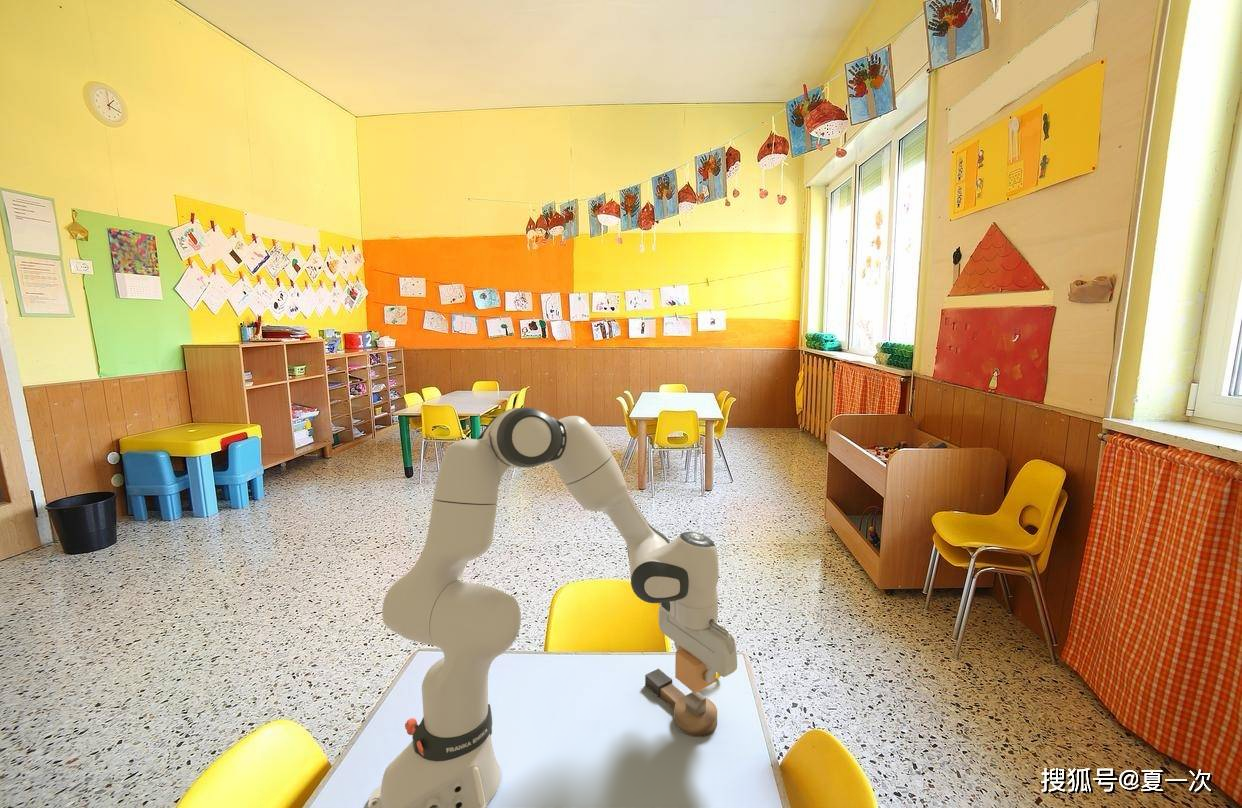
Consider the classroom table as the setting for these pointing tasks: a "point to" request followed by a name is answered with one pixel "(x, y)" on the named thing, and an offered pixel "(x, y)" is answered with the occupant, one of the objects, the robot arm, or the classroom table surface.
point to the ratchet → (684, 705)
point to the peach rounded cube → (690, 671)
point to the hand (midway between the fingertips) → (695, 670)
